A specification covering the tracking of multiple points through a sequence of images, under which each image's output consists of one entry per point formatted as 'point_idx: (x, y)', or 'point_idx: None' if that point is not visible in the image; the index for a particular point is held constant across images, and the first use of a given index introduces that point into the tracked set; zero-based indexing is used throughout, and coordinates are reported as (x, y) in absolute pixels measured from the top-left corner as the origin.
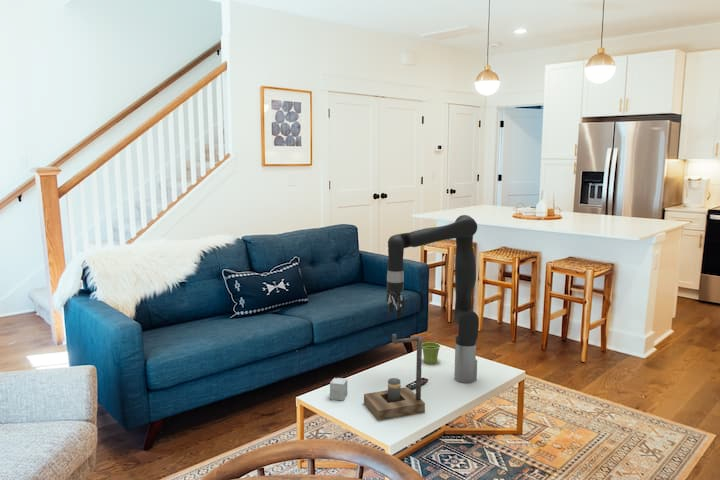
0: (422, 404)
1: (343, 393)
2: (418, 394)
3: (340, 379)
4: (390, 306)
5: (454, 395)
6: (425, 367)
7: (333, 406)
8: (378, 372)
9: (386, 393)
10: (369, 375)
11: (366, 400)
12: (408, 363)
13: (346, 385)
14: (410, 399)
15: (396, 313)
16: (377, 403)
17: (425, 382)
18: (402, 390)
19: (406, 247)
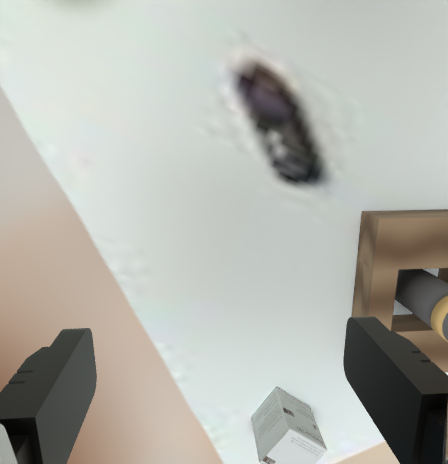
0: None
1: (315, 422)
2: None
3: (285, 450)
4: (60, 454)
5: (435, 36)
6: (131, 2)
7: (330, 435)
8: (128, 234)
9: (391, 310)
10: (147, 276)
11: None
12: (60, 62)
13: (296, 419)
14: None
15: (381, 419)
16: (440, 358)
17: (284, 90)
18: (395, 249)
19: None
